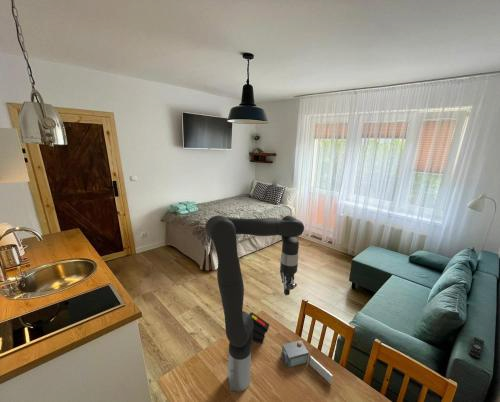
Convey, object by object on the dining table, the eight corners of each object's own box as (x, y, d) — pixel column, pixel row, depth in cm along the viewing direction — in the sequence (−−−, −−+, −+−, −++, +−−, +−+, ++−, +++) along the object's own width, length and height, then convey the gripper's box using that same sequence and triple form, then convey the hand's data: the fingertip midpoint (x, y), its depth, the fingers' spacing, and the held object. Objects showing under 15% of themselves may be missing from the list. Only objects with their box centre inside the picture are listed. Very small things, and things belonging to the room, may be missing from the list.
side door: (331, 382, 97) (333, 374, 96) (330, 384, 96) (331, 376, 95) (309, 361, 106) (310, 353, 105) (307, 363, 105) (308, 355, 104)
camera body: (285, 369, 102) (286, 357, 101) (279, 354, 109) (279, 344, 107) (307, 362, 106) (308, 351, 104) (300, 349, 112) (301, 338, 110)
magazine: (239, 328, 122) (251, 311, 116) (260, 343, 119) (273, 326, 114) (236, 333, 118) (249, 316, 113) (257, 349, 116) (271, 332, 110)
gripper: (304, 267, 93) (300, 302, 98) (290, 252, 105) (287, 284, 110) (288, 270, 91) (285, 305, 96) (275, 254, 103) (273, 286, 108)
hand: (286, 294), depth 103 cm, fingers closed
